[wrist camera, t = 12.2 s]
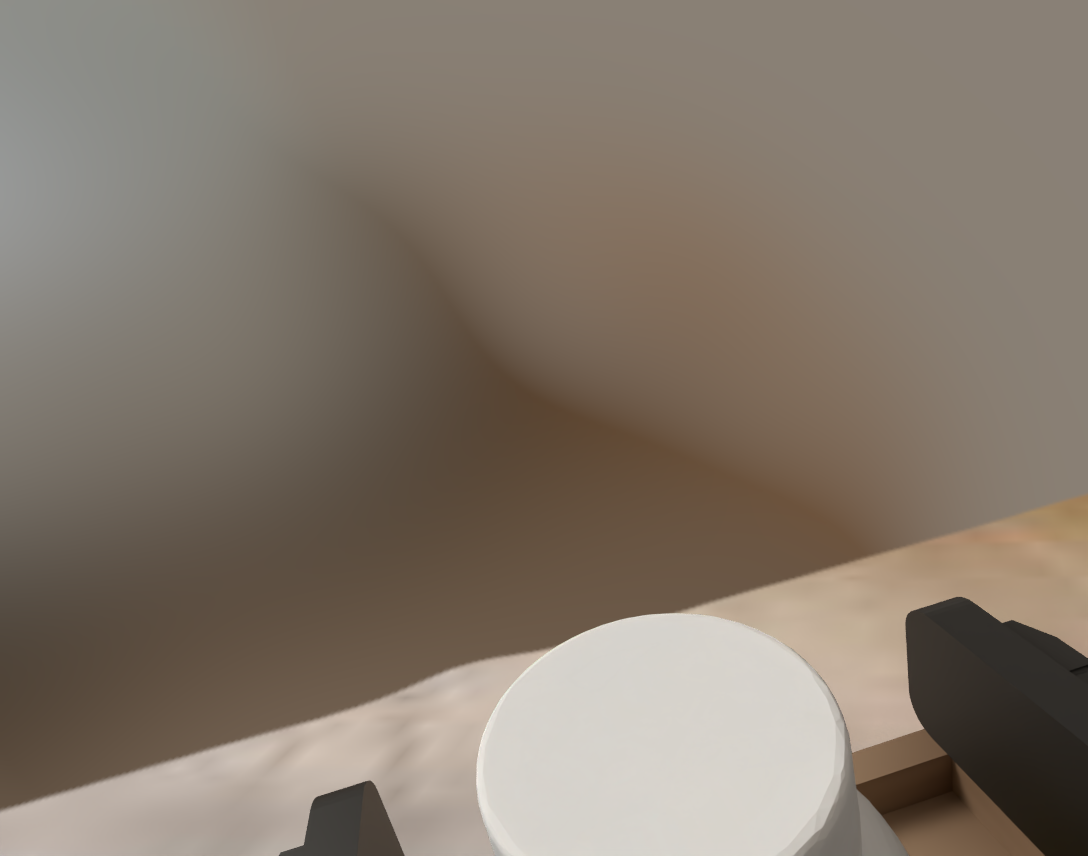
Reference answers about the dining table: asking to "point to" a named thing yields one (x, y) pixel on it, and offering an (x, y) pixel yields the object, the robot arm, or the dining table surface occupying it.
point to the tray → (934, 801)
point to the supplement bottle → (673, 750)
